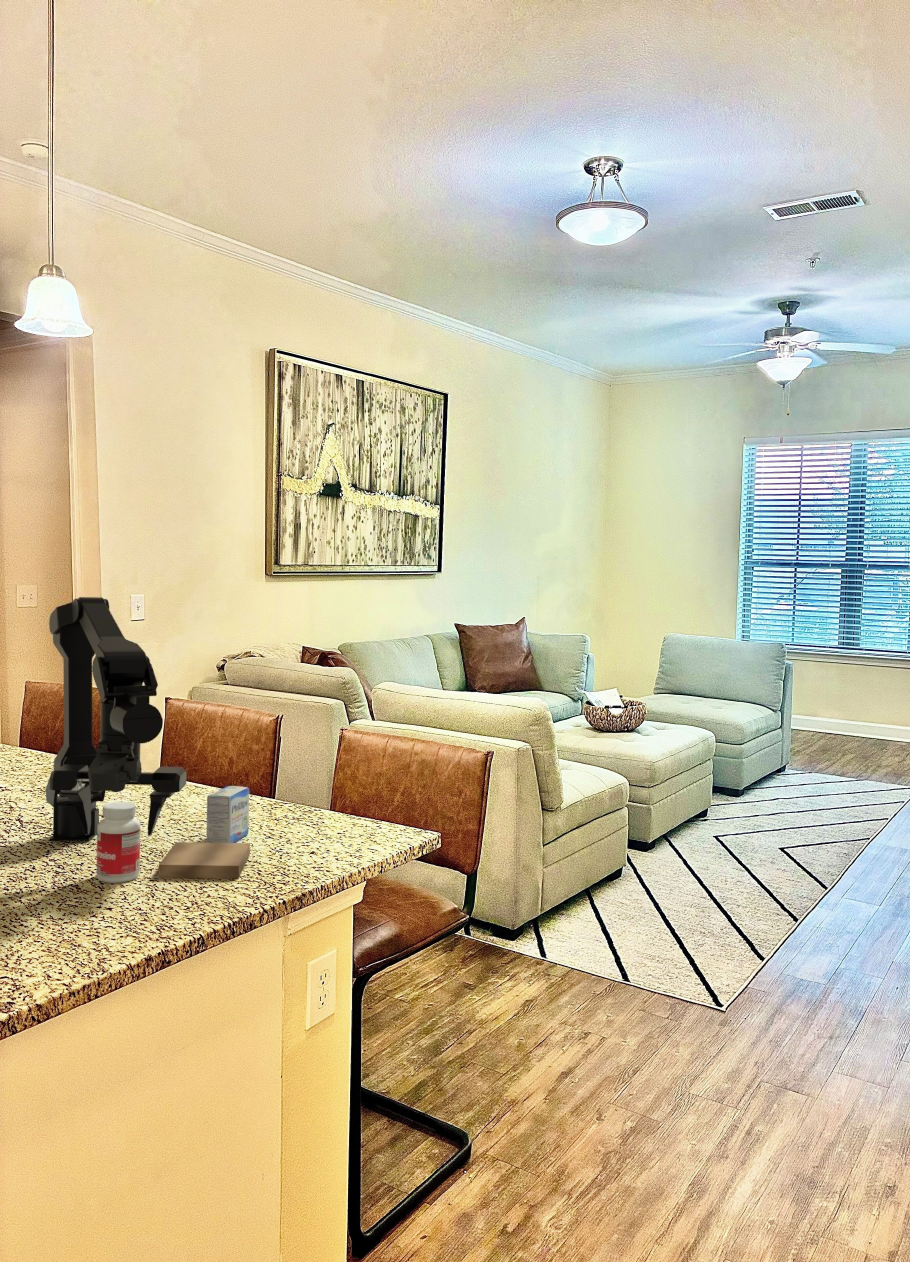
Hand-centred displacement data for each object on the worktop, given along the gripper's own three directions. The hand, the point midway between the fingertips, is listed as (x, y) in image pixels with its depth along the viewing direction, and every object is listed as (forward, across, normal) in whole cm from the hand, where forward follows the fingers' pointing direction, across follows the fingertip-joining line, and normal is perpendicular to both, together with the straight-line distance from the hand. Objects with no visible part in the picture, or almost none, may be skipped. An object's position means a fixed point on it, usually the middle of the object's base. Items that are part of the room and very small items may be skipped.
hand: (118, 834), depth 143 cm
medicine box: (+7, +13, +21) cm, 26 cm away
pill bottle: (+7, 0, 0) cm, 7 cm away
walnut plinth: (+6, +12, +6) cm, 15 cm away
